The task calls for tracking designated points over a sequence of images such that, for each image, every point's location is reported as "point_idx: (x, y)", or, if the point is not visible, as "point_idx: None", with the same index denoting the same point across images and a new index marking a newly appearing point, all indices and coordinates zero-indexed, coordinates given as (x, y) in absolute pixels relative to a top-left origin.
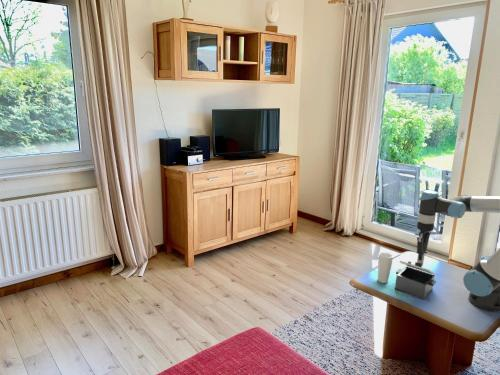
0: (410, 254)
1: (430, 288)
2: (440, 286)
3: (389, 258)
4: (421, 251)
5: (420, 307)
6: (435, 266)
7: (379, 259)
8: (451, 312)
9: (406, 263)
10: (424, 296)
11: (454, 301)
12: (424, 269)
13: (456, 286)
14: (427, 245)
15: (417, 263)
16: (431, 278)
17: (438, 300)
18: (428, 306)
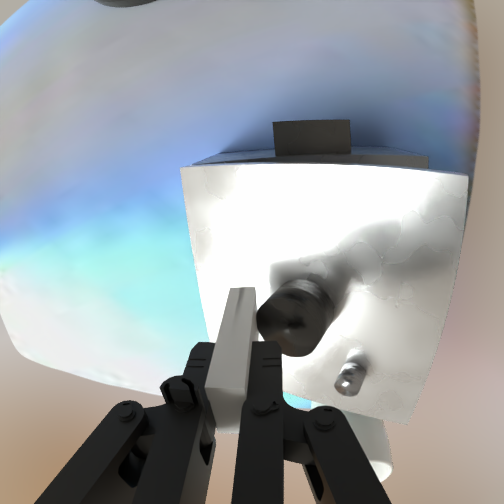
0: (24, 347)
1: (269, 150)
2: (144, 140)
3: (384, 458)
4: (364, 459)
5: (462, 138)
6: (8, 251)
7: (374, 463)
8: (392, 9)
9: (423, 384)
10: (383, 147)
11: (260, 20)
12: (463, 226)
13: (82, 93)
14: (74, 455)
15: (320, 336)
16: (277, 159)
17: (325, 81)
18: (428, 108)
